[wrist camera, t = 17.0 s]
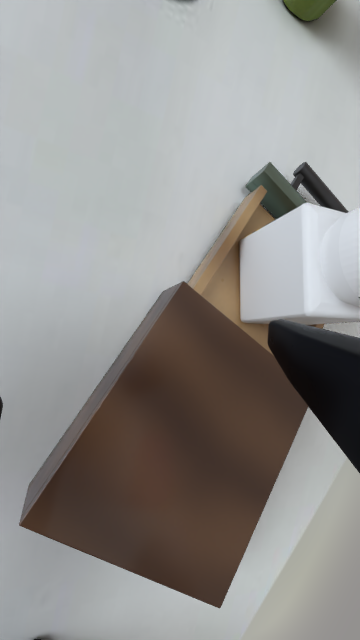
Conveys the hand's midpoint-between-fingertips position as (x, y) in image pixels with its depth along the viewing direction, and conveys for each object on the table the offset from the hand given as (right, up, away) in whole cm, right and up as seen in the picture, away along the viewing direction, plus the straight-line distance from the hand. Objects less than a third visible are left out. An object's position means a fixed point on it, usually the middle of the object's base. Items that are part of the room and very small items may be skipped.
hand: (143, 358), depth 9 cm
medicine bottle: (+9, +4, +16) cm, 19 cm away
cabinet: (+1, -7, +13) cm, 15 cm away
